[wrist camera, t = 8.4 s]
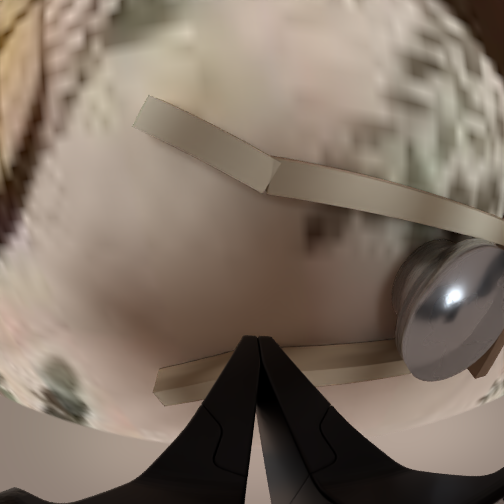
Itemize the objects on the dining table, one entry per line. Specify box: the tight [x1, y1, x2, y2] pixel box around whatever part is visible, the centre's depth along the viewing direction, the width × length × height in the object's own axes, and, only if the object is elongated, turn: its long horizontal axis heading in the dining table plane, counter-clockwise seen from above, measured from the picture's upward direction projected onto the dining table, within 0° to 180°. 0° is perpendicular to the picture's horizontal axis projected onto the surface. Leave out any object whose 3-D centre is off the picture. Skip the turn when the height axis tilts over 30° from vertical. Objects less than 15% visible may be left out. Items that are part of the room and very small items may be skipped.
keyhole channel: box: [132, 95, 504, 406], centre depth 12 cm, size 20×14×3 cm
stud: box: [392, 238, 504, 381], centre depth 12 cm, size 7×7×4 cm
